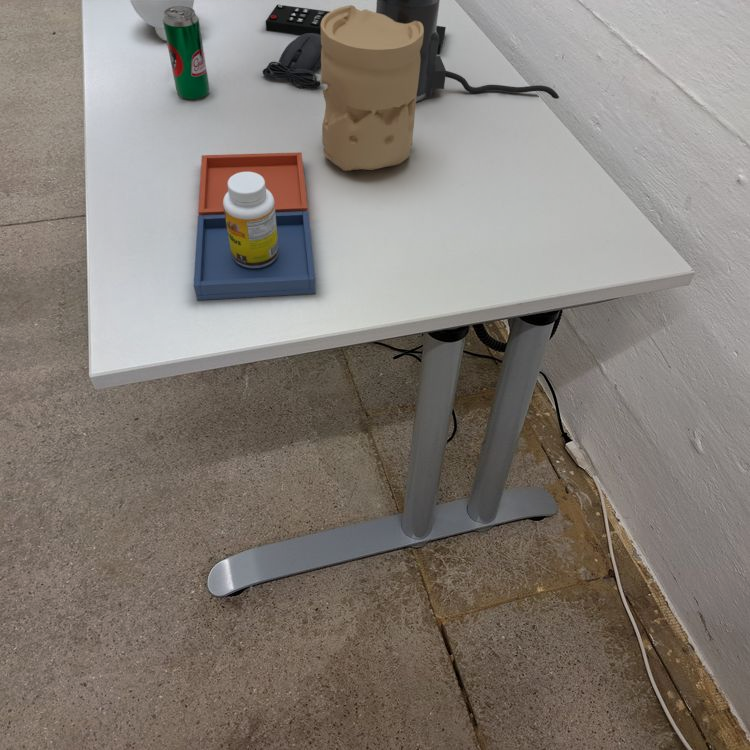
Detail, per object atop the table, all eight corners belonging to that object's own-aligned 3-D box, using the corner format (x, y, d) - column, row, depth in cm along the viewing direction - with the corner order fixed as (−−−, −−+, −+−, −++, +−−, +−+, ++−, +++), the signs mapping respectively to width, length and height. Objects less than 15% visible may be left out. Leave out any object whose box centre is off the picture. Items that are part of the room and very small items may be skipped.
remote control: (276, 12, 120) (275, 1, 118) (444, 35, 117) (446, 24, 116) (264, 30, 115) (263, 18, 113) (439, 54, 113) (441, 42, 111)
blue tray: (308, 225, 81) (307, 210, 79) (315, 293, 74) (315, 279, 72) (201, 230, 80) (197, 215, 78) (197, 300, 72) (193, 285, 70)
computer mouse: (350, 54, 111) (351, 31, 108) (316, 92, 102) (316, 68, 99) (297, 42, 113) (296, 19, 110) (259, 79, 104) (257, 55, 101)
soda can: (203, 103, 98) (189, 21, 89) (172, 99, 99) (155, 16, 89) (214, 88, 101) (202, 7, 92) (184, 83, 102) (169, 2, 92)
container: (340, 126, 96) (341, -3, 82) (420, 144, 94) (435, 15, 80) (309, 171, 89) (304, 37, 75) (395, 191, 87) (407, 58, 73)
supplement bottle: (226, 245, 77) (213, 172, 69) (270, 236, 78) (263, 162, 70) (238, 275, 74) (227, 201, 66) (285, 264, 75) (279, 191, 67)
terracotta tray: (302, 166, 89) (301, 152, 87) (308, 222, 82) (307, 207, 80) (204, 170, 88) (201, 155, 86) (201, 227, 80) (198, 212, 78)
